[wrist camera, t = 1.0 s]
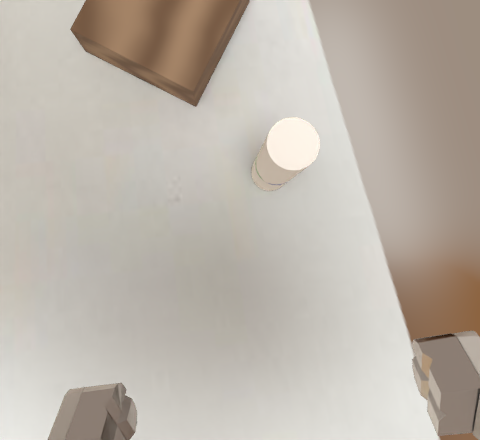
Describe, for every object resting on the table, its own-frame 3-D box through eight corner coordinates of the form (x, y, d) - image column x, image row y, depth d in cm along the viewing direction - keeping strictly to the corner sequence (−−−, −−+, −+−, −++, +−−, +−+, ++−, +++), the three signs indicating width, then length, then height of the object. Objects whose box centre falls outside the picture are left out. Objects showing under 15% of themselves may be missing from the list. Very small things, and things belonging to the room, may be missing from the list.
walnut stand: (85, 51, 47) (70, 29, 42) (141, -54, 48) (132, -88, 43) (195, 106, 48) (193, 91, 43) (249, 1, 49) (253, -25, 44)
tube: (264, 146, 48) (286, 106, 33) (295, 167, 48) (330, 137, 33) (243, 177, 48) (256, 150, 33) (274, 198, 48) (300, 180, 33)
